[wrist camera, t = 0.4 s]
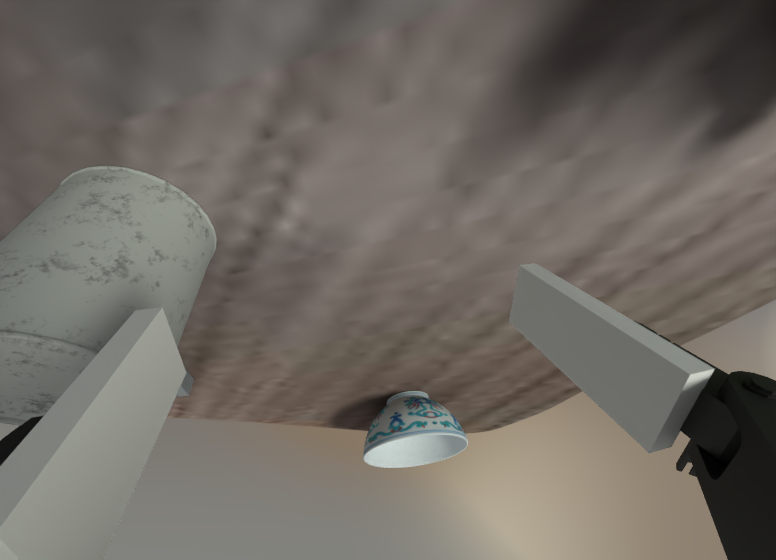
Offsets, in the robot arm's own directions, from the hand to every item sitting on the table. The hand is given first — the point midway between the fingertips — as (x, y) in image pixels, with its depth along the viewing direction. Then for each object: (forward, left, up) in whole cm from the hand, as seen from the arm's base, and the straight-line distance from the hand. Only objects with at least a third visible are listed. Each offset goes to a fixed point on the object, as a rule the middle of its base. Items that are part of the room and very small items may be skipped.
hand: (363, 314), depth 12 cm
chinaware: (+40, +9, -13) cm, 43 cm away
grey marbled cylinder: (+6, -15, -13) cm, 21 cm away
